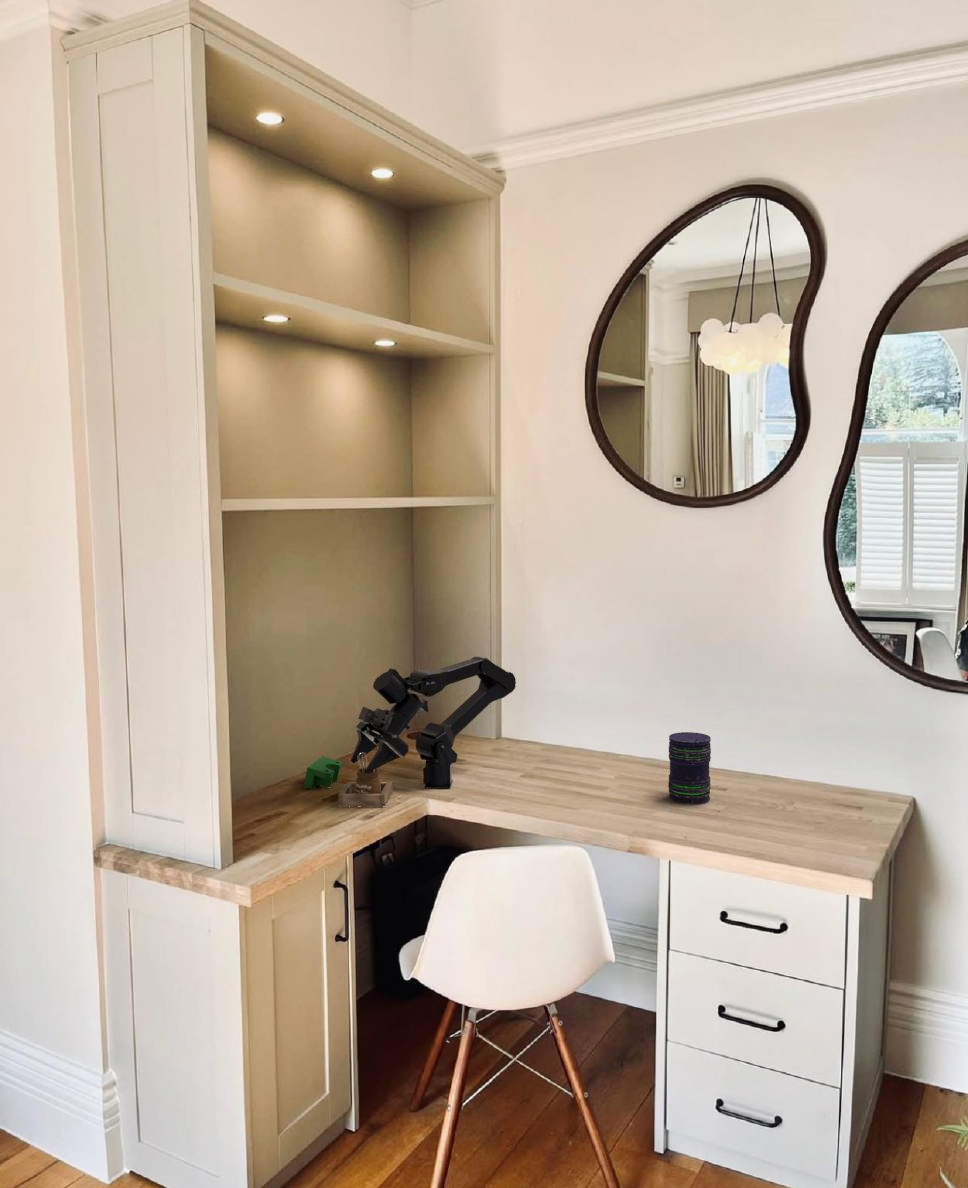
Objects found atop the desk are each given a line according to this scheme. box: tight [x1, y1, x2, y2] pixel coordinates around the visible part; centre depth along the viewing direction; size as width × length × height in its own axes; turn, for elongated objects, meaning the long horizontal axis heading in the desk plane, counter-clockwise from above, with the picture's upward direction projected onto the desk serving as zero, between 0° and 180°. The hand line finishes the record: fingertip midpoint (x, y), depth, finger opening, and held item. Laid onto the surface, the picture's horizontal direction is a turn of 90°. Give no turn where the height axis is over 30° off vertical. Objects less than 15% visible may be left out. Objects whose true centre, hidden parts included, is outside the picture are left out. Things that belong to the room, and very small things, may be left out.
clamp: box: [303, 755, 343, 790], centre depth 254 cm, size 12×6×9 cm, turn 164°
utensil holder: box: [355, 752, 382, 794], centre depth 239 cm, size 6×6×12 cm
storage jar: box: [667, 731, 712, 806], centre depth 237 cm, size 10×10×15 cm
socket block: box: [337, 781, 393, 808], centre depth 240 cm, size 11×11×4 cm
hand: (359, 766), depth 238 cm, fingers open, 9 cm apart
